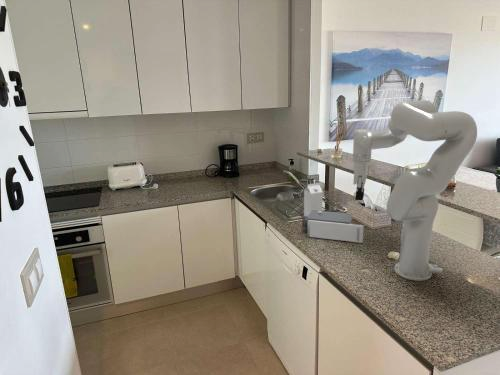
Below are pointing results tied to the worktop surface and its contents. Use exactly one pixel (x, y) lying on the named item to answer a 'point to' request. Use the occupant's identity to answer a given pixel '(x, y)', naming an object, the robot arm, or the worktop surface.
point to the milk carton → (312, 198)
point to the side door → (335, 231)
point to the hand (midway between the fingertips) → (359, 197)
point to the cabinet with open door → (327, 218)
